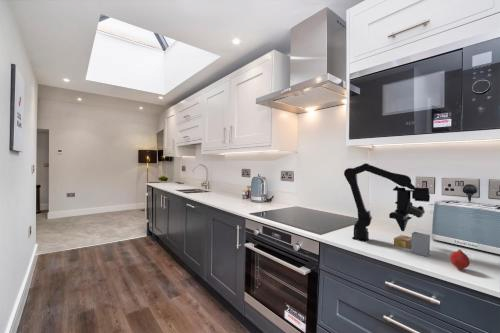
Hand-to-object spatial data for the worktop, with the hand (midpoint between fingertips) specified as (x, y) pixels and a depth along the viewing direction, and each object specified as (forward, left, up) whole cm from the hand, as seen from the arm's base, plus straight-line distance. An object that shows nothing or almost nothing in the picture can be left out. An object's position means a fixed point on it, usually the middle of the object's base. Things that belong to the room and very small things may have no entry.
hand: (402, 231), depth 120 cm
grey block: (+9, -5, -7) cm, 13 cm away
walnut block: (0, -3, -6) cm, 6 cm away
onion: (+24, -12, -8) cm, 28 cm away
